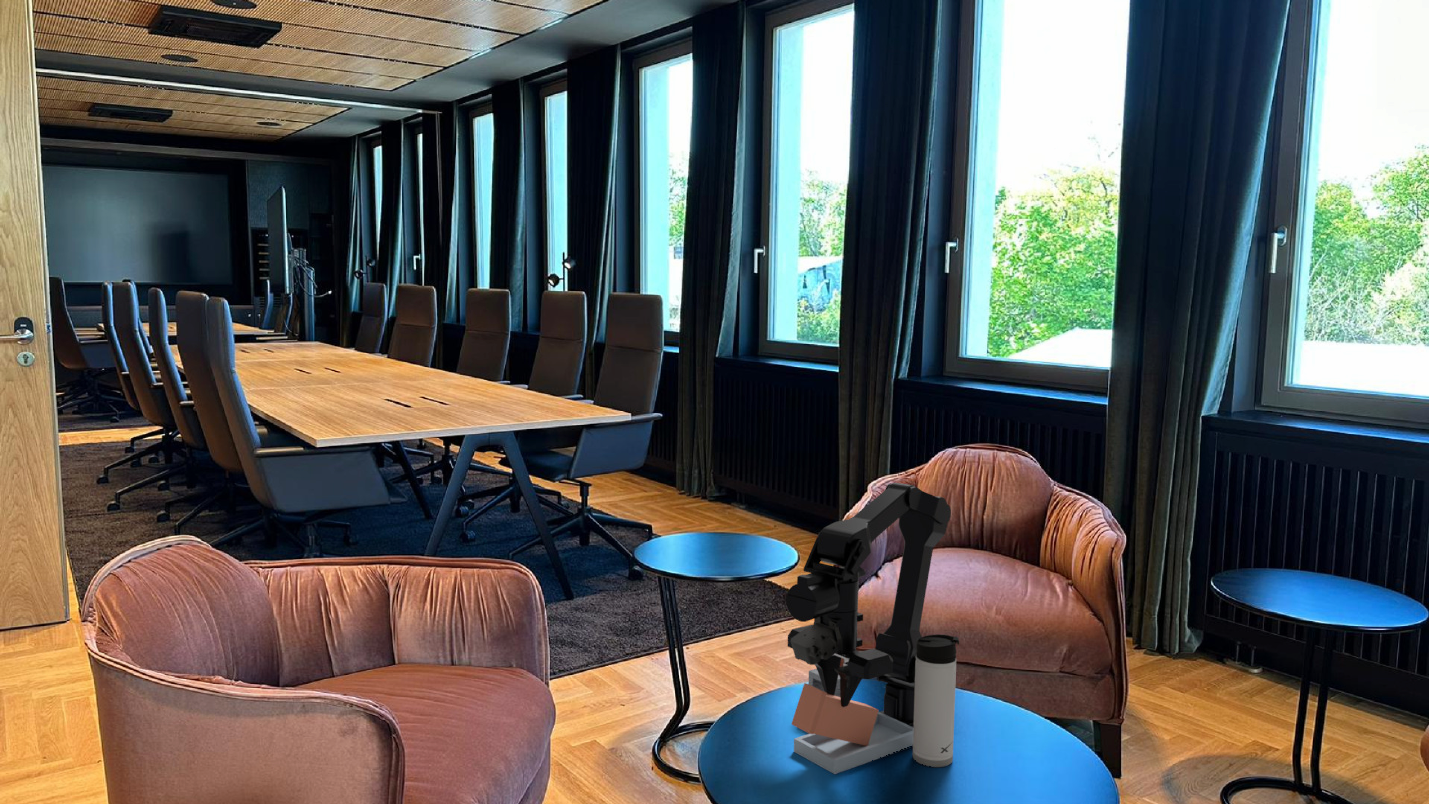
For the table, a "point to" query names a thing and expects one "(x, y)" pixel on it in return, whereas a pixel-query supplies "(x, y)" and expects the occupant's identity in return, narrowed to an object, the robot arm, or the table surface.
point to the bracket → (816, 682)
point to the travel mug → (934, 700)
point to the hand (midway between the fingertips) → (837, 702)
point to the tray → (855, 745)
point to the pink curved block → (834, 716)
